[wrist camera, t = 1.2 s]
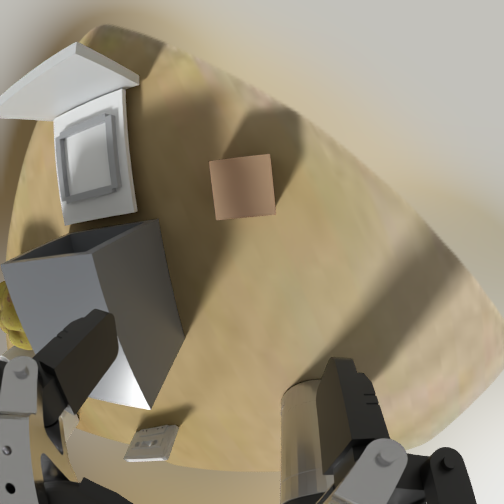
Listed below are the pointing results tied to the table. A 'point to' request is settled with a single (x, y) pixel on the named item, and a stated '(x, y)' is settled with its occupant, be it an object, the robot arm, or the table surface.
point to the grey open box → (104, 301)
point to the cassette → (152, 444)
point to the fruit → (11, 320)
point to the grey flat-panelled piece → (82, 128)
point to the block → (242, 187)
